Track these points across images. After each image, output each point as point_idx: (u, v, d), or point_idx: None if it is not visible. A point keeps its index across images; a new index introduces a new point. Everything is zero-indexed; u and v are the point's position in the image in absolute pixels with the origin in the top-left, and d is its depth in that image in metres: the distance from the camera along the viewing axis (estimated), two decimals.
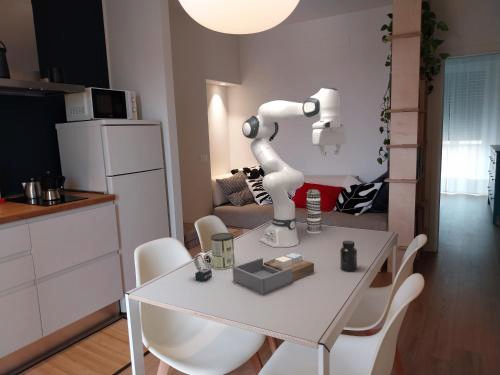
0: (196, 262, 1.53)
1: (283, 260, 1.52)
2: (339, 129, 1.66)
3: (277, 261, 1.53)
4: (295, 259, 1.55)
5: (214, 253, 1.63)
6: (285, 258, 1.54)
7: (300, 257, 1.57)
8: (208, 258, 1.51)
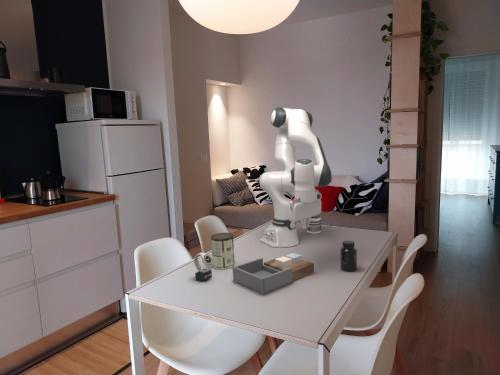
0: (196, 262, 1.53)
1: (283, 260, 1.52)
2: None
3: (277, 261, 1.53)
4: (295, 259, 1.55)
5: (214, 253, 1.63)
6: (285, 258, 1.54)
7: (300, 257, 1.57)
8: (208, 258, 1.51)
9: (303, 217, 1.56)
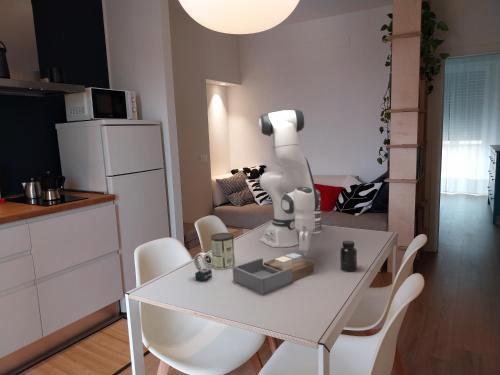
0: (196, 262, 1.53)
1: (283, 260, 1.52)
2: (300, 232, 1.57)
3: (277, 261, 1.53)
4: (295, 259, 1.55)
5: (214, 253, 1.63)
6: (285, 258, 1.54)
7: (300, 257, 1.57)
8: (208, 258, 1.51)
9: None
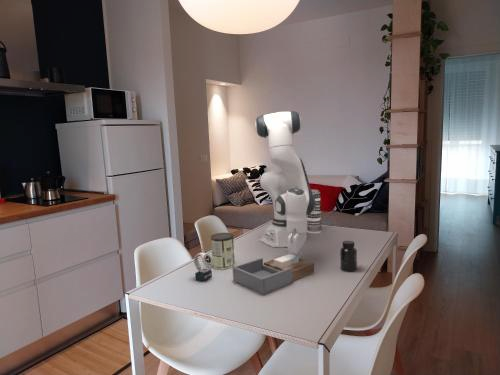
0: (196, 262, 1.53)
1: (281, 260, 1.51)
2: None
3: (276, 261, 1.52)
4: (292, 260, 1.54)
5: (214, 253, 1.63)
6: (284, 258, 1.54)
7: (297, 258, 1.56)
8: (208, 258, 1.51)
9: (299, 248, 1.54)
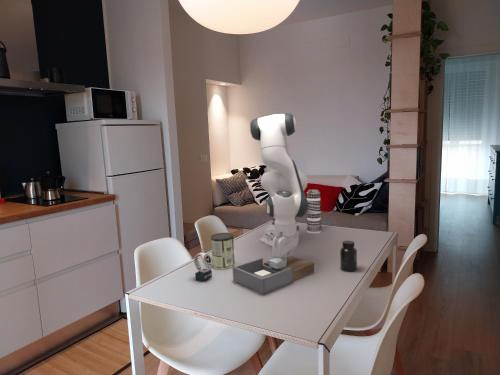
0: (196, 262, 1.53)
1: None
2: None
3: None
4: (279, 264, 1.50)
5: (214, 253, 1.63)
6: None
7: (284, 262, 1.51)
8: (208, 258, 1.51)
9: (286, 252, 1.49)
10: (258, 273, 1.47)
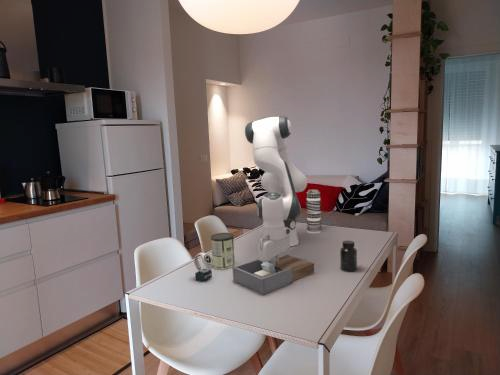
0: (196, 262, 1.53)
1: None
2: None
3: None
4: None
5: (214, 253, 1.63)
6: None
7: (270, 268, 1.47)
8: (208, 258, 1.51)
9: (273, 255, 1.45)
10: (258, 273, 1.47)
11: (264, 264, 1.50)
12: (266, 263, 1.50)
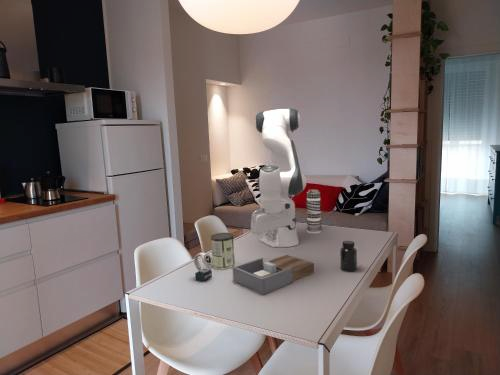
0: (196, 262, 1.53)
1: None
2: None
3: None
4: None
5: (214, 253, 1.63)
6: None
7: (272, 267, 1.48)
8: (208, 258, 1.51)
9: (268, 229, 1.44)
10: (257, 273, 1.47)
11: (267, 263, 1.50)
12: (269, 263, 1.51)
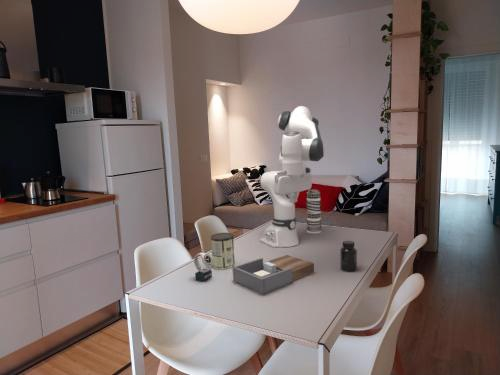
0: (196, 262, 1.53)
1: None
2: None
3: None
4: None
5: (214, 253, 1.63)
6: None
7: (272, 267, 1.48)
8: (208, 258, 1.51)
9: (289, 190, 1.53)
10: (257, 273, 1.47)
11: (267, 263, 1.50)
12: (269, 263, 1.51)
